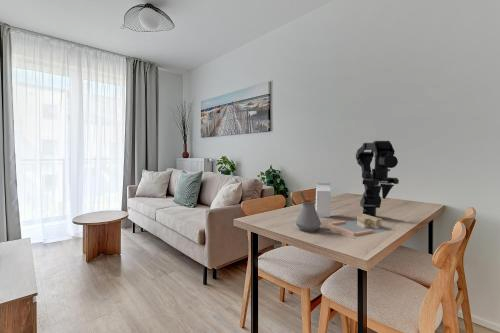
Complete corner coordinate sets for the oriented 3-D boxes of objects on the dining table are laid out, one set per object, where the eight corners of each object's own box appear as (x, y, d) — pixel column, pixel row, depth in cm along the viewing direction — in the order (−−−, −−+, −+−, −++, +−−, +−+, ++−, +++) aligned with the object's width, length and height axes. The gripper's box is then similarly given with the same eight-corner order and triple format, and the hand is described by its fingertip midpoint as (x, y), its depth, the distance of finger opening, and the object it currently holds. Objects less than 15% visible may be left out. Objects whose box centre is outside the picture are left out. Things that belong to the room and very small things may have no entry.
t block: (363, 221, 122) (363, 214, 122) (381, 227, 113) (382, 218, 113) (351, 223, 118) (352, 215, 118) (369, 229, 109) (370, 220, 109)
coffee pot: (324, 232, 108) (325, 199, 107) (298, 232, 108) (299, 199, 107) (311, 219, 130) (311, 191, 129) (289, 219, 129) (289, 191, 128)
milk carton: (330, 218, 131) (330, 183, 130) (316, 218, 132) (317, 183, 131) (328, 215, 138) (329, 182, 137) (315, 214, 139) (316, 181, 138)
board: (356, 221, 126) (356, 218, 125) (390, 232, 109) (390, 227, 109) (325, 227, 116) (325, 222, 116) (356, 239, 100) (356, 234, 100)
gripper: (379, 165, 129) (378, 195, 130) (353, 166, 121) (352, 197, 122) (399, 166, 119) (398, 198, 120) (373, 167, 111) (372, 201, 112)
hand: (380, 199), depth 119 cm, fingers open, 5 cm apart
